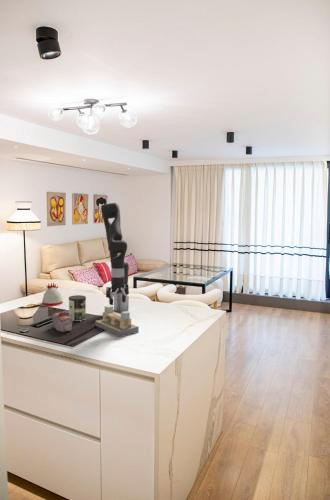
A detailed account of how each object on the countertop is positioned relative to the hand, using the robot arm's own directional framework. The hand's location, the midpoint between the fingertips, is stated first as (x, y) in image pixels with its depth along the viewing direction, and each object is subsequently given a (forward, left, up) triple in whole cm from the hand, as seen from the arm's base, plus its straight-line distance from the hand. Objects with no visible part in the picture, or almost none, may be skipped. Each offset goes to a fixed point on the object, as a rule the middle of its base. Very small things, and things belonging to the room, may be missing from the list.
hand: (117, 303), depth 210 cm
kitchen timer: (+2, -75, -15) cm, 77 cm away
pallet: (0, 0, -12) cm, 12 cm away
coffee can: (+8, -30, -15) cm, 35 cm away
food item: (+25, -19, -15) cm, 35 cm away
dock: (0, 0, -15) cm, 15 cm away
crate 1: (0, -8, -7) cm, 11 cm away
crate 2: (0, +8, -7) cm, 10 cm away
